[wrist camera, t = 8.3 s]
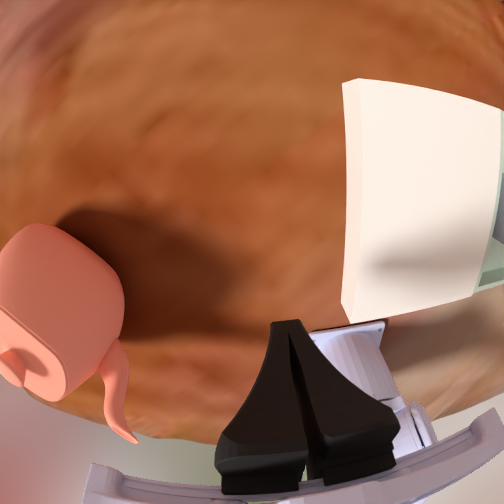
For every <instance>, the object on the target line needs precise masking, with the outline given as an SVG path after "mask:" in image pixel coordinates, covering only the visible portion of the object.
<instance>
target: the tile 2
mask: <svg viewBox="0 0 504 504" xmlns="http://www.w3.org/2000/svg"><path fill="white" fill-rule="evenodd" d="M492 237H493V238H495V239H496V240H498V241H499V242H500V243H502V244H503V245H504V173H502V181H501V190H500V197H499V204H498V210H497V215H496V221H495V226H494V230H493V235H492Z"/></svg>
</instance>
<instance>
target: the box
mask: <svg viewBox="0 0 504 504" xmlns="http://www.w3.org/2000/svg"><path fill="white" fill-rule="evenodd" d="M502 173H504V111H501V152H500V167H499V178H498V187H497V195H496V202H495V208H494V214H493V219H492V225H491V229H490V234H489V239H488V243H487V247H486V251H485V255H484V258H483V262H482V266H481V269H480V272H479V276H478V279H477V282H476V285H475V288H474V291H473V293H475V292H478V291H481V290H485V289H488V288H491V287H495V286H498V285H501V284H504V245H503V244H502V243H500V242H499V241H498V240H496V239H495V238H493V237H492V235H493V230H494V226H495V221H496V215H497V210H498V204H499V197H500V190H501V181H502Z"/></svg>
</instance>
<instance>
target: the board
mask: <svg viewBox="0 0 504 504" xmlns="http://www.w3.org/2000/svg"><path fill="white" fill-rule="evenodd" d="M342 90H343V101H344V115H345V133H346V162H347V208H346V238H345V256H344V271H343V283H342V294H341V304H342V306H343V308H344V310H345V312H346V315H347V317H348V319H349V321H350V323H351V324H352V323H358V322H363V321H369V320H374V319H379V318H384V317H389V316H394V315H399V314H403V313H408V312H412V311H417V310H421V309H425V308H429V307H433V306H437V305H441V304H445V303H449V302H453V301H456V300H460V299H463V298H467V297H470V296H472V294H473V291H474V288H475V285H476V282H477V279H478V276H479V272H480V269H481V266H482V262H483V258H484V255H485V251H486V247H487V243H488V239H489V234H490V229H491V225H492V219H493V214H494V208H495V202H496V195H497V187H498V178H499V167H500V152H501V109H498V108H495V107H492V106H490V105H487V104H484V103H481V102H477V101H474V100H471V99H468V98H464V97H461V96H457V95H453V94H449V93H445V92H441V91H437V90H432V89H428V88H423V87H418V86H412V85H406V84H400V83H394V82H386V81H378V80H369V79H359V78H358V79H355V80H351V81H348V82H345V83H342Z"/></svg>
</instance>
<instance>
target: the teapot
mask: <svg viewBox="0 0 504 504" xmlns="http://www.w3.org/2000/svg"><path fill="white" fill-rule="evenodd" d="M123 317H124V294H123V289H122V285H121V283H120V280H119V277H118V276H117V274H116V272H115V271H114V270H113V269H112V267H111V266H109V265H108V264H107V263H106V262H105V261H104V260H103V259H102V258H100V257H99V256H98V255H97V254H96V253H94V252H93V251H92V250H91V249H89V248H88V247H87V246H85V245H84V244H83V243H81V242H80V241H78V240H77V239H75V238H74V237H72V236H71V235H69V234H68V233H66V232H65V231H63V230H61V229H59V228H57V227H54V226H51V225H48V224H43V223H34V224H30V225H27V226H25V227H24V228H23V229H21V230H20V231H19V232H18V233H17V234H16V235H15V236H14V237H13V238H12V239H11V240H10V241H9V242H8V243H7V244H6V246H5V247H4V248H3V250H2V251H1V253H0V373H1V374H2V375H3V376H4V377H5V378H6V379H7V380H8V381H9V382H11V383H12V384H14V385H16V386H18V387H23V386H25V387H26V388H28V389H29V390H31V391H32V392H34V393H35V394H37V395H38V396H40V397H42V398H44V399H46V400H48V401H59V400H61V399H62V398H64V397H65V396H67V395H68V394H70V393H71V392H72V391H73V390H75V389H76V388H77V387H78V386H80V385H81V384H82V383H83V382H85V381H86V380H87V379H88V378H89V377H90V376H92V375H93V373H94V372H95V371H96V370H97V371H98V372H99V373H100V375H101V377H102V378H103V380H104V383H105V388H106V393H105V401H104V413H105V417H106V420H107V422H108V424H109V426H110V427H111V428H112V429H113V430H114V431H115V432H116V433H118V434H119V435H120V436H122V437H124V438H125V439H126V440H128V441H130V442H132V443H135V444H139V442H138V440H137V439H136V437H135V436H134V435H133V433H132V432H131V430H130V429H129V427H128V426H127V423H126V420H125V417H124V399H125V394H126V389H127V385H128V379H129V362H128V358H127V355H126V352H125V350H124V348H123V346H122V344H121V343H120V341H119V339H118V337H119V335H120V331H121V328H122V323H123Z"/></svg>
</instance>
